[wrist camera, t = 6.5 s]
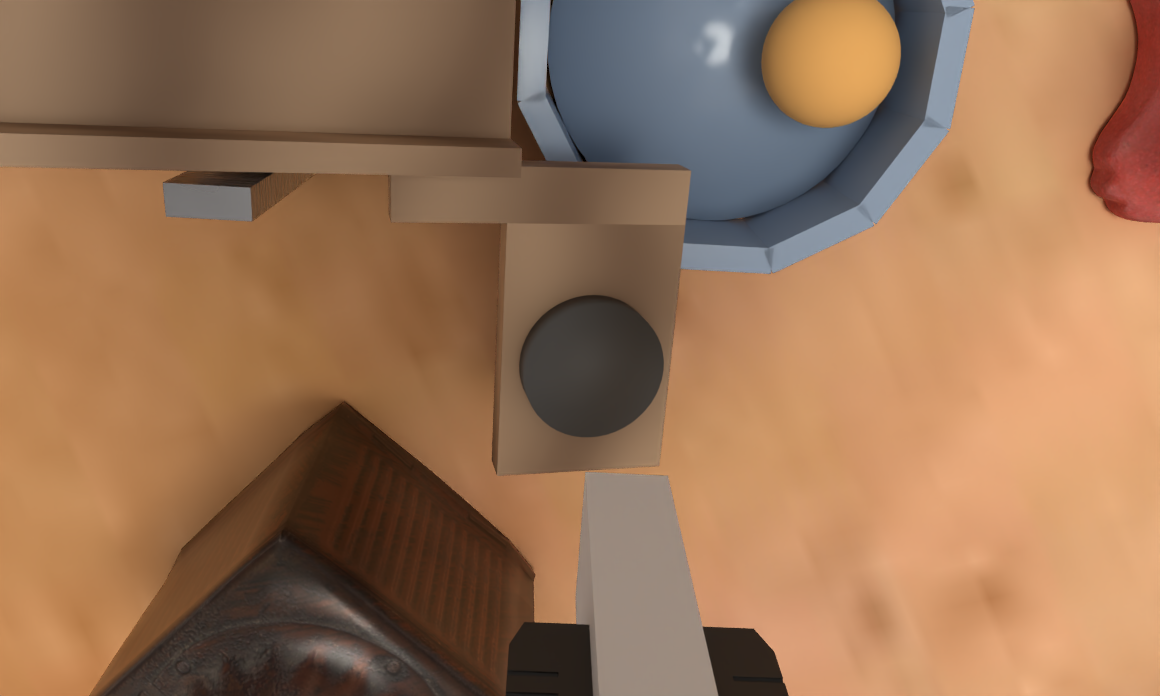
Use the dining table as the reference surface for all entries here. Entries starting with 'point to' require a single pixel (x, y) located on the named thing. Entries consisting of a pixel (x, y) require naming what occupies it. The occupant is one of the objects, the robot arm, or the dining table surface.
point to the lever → (386, 147)
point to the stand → (227, 193)
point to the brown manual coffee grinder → (334, 585)
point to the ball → (830, 60)
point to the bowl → (734, 117)
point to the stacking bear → (1134, 132)
